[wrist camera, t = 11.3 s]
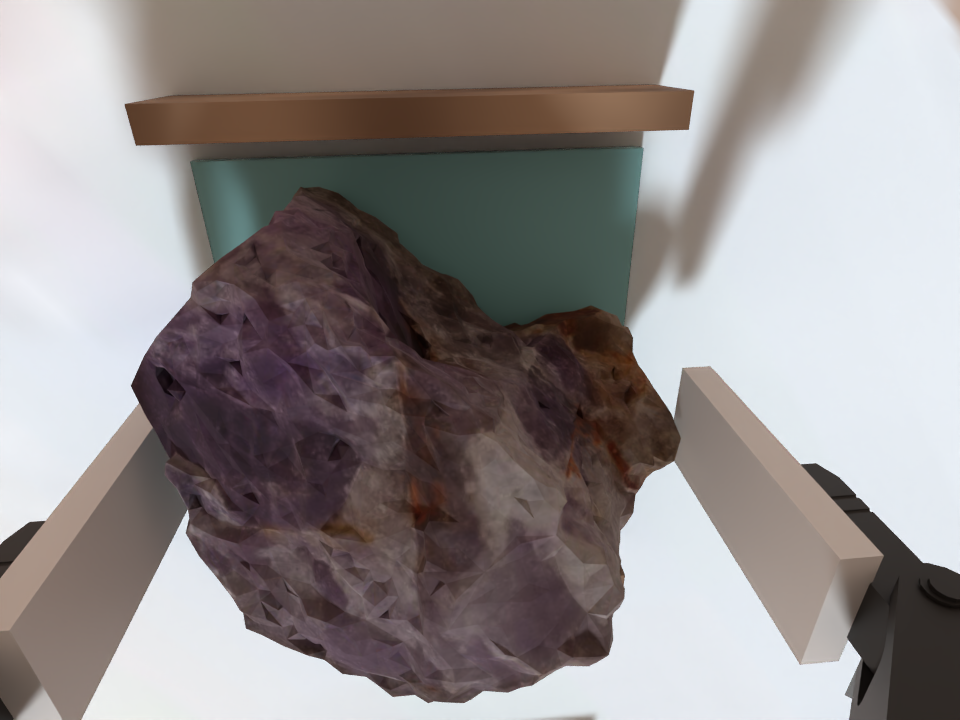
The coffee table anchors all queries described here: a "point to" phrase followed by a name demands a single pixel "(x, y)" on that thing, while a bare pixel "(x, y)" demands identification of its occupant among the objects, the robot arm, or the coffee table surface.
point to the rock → (401, 457)
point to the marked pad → (464, 217)
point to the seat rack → (408, 115)
